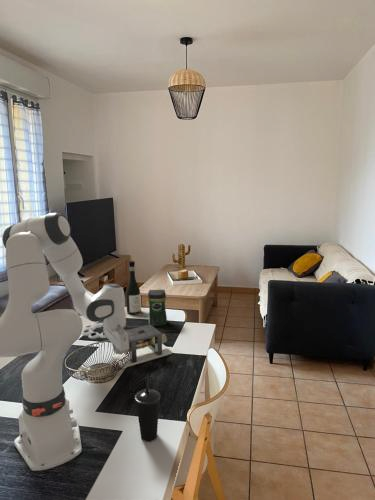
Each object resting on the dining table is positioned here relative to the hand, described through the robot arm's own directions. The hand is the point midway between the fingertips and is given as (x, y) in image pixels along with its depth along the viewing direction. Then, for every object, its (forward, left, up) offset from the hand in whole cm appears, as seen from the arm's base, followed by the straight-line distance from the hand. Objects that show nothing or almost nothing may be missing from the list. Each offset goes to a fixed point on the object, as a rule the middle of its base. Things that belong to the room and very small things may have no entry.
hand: (116, 352), depth 159 cm
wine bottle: (+50, -29, -5) cm, 58 cm away
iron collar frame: (0, -11, -5) cm, 12 cm away
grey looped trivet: (+36, -5, -5) cm, 37 cm away
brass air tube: (0, -12, -1) cm, 12 cm away
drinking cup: (-48, +9, -5) cm, 49 cm away
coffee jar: (+28, -33, -5) cm, 44 cm away
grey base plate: (0, -11, -5) cm, 12 cm away
